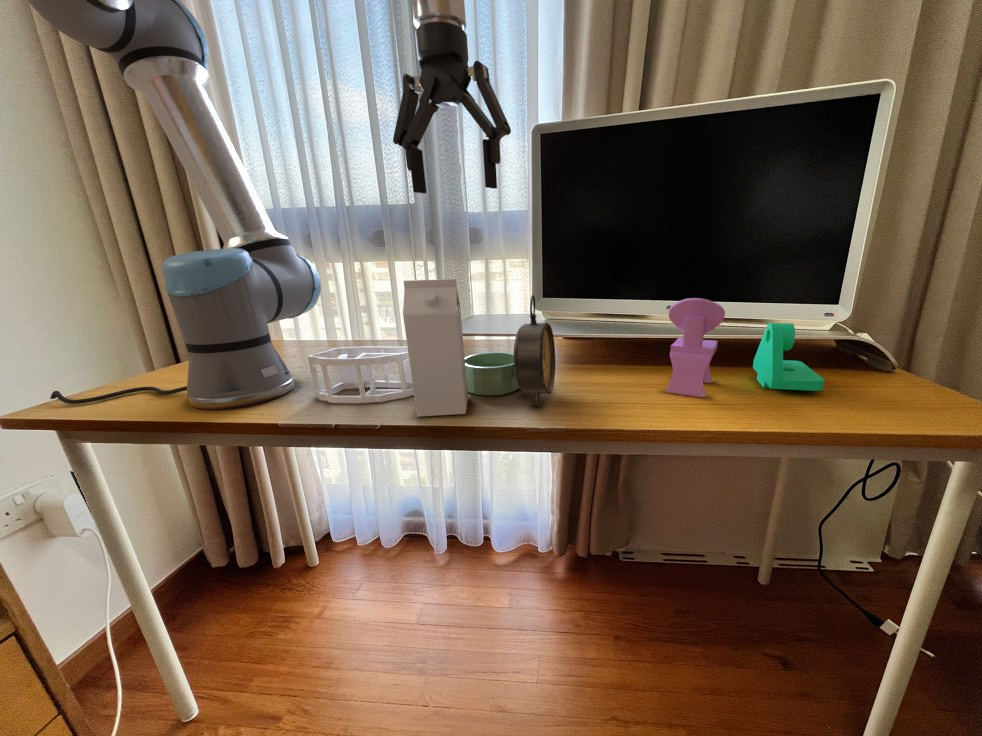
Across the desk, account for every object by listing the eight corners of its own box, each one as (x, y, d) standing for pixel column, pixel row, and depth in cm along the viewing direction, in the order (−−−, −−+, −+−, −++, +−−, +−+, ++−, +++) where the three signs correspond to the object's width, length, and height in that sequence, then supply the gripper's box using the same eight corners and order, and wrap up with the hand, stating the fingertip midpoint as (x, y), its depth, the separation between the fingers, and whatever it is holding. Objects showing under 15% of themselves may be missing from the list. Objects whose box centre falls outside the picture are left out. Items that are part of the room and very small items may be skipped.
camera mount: (823, 397, 66) (838, 331, 62) (769, 395, 68) (781, 330, 64) (797, 374, 77) (809, 317, 73) (751, 373, 79) (760, 316, 75)
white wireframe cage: (449, 382, 78) (445, 342, 75) (429, 404, 67) (424, 359, 65) (344, 381, 79) (336, 342, 77) (309, 403, 69) (299, 359, 66)
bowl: (452, 393, 72) (449, 365, 70) (481, 376, 81) (479, 350, 79) (507, 400, 68) (506, 370, 67) (531, 381, 77) (530, 354, 75)
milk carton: (423, 400, 69) (408, 278, 62) (468, 398, 70) (457, 276, 63) (417, 417, 62) (398, 283, 55) (466, 414, 63) (453, 281, 56)
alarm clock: (545, 411, 64) (543, 300, 58) (510, 409, 65) (504, 299, 59) (557, 387, 74) (556, 290, 68) (526, 386, 75) (523, 290, 69)
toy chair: (718, 382, 74) (730, 293, 69) (712, 398, 67) (725, 300, 61) (670, 376, 78) (677, 292, 72) (658, 391, 71) (666, 298, 65)
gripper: (528, 25, 62) (532, 187, 70) (389, 54, 71) (406, 196, 78) (506, 0, 56) (514, 183, 63) (356, 35, 64) (378, 192, 72)
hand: (454, 190), depth 71 cm, fingers open, 13 cm apart
